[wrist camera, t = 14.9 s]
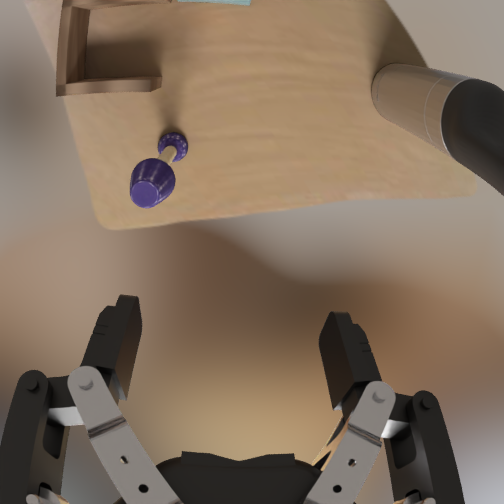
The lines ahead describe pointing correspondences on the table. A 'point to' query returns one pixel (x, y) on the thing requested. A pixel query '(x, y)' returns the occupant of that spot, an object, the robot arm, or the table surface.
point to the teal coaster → (221, 1)
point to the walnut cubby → (74, 52)
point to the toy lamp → (157, 172)
